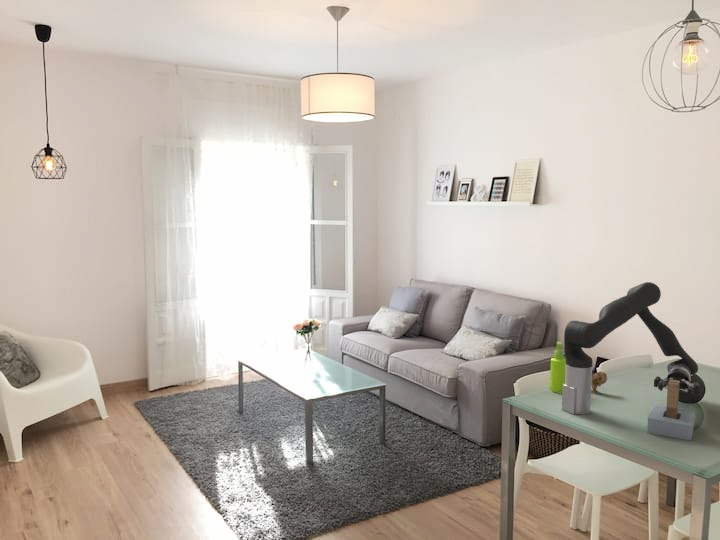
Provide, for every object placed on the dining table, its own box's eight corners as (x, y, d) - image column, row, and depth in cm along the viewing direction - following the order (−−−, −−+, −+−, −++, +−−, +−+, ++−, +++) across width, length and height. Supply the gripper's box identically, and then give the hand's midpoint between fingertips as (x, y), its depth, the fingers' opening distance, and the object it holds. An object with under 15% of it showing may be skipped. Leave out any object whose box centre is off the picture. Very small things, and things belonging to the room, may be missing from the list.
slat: (675, 431, 202) (678, 384, 200) (665, 429, 204) (667, 383, 202) (676, 426, 206) (679, 380, 204) (667, 424, 208) (669, 379, 206)
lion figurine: (608, 392, 244) (609, 371, 244) (603, 395, 241) (604, 373, 240) (572, 385, 254) (573, 364, 253) (567, 388, 250) (568, 367, 249)
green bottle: (564, 388, 250) (566, 341, 247) (564, 393, 243) (566, 344, 241) (550, 387, 251) (551, 340, 249) (549, 392, 245) (551, 343, 243)
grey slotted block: (691, 440, 195) (692, 425, 195) (647, 432, 202) (648, 418, 201) (694, 426, 208) (695, 412, 207) (652, 419, 215) (653, 405, 214)
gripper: (658, 365, 226) (652, 376, 212) (701, 371, 218) (699, 382, 205) (656, 385, 227) (651, 397, 213) (700, 391, 219) (697, 404, 206)
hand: (674, 390), depth 209 cm, fingers open, 8 cm apart
